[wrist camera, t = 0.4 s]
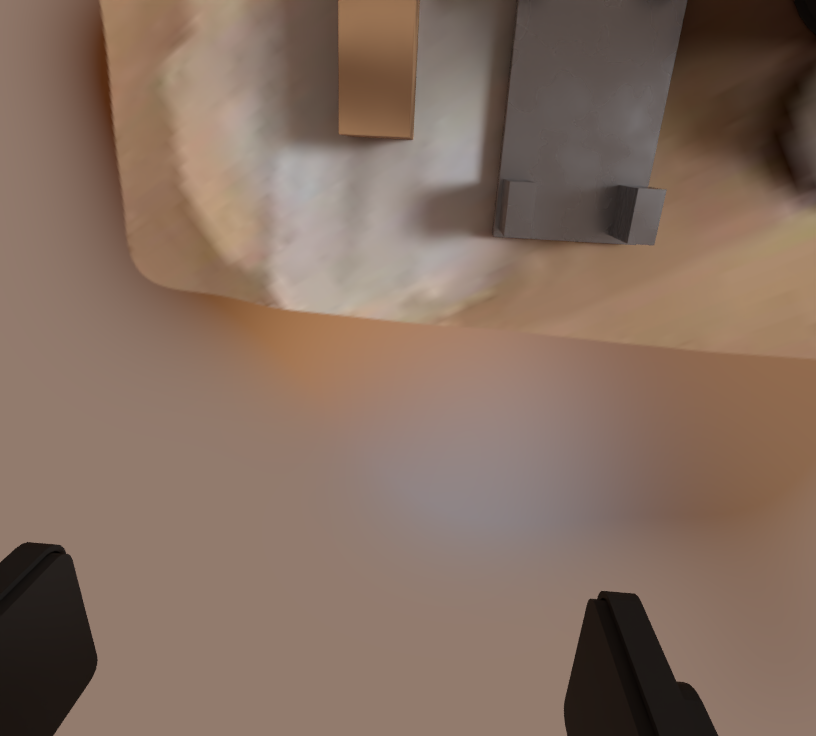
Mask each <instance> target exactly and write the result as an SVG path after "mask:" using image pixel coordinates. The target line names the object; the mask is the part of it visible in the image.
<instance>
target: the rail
mask: <svg viewBox="0 0 816 736" xmlns="http://www.w3.org/2000/svg"><path fill="white" fill-rule="evenodd" d="M419 5H420V0H338V67H339V134H341V135H346V136H352V137H372V138H392V139H412V140H413V133H414V112H415V90H416V69H417V48H418V27H419Z"/></svg>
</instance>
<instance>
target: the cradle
mask: <svg viewBox="0 0 816 736" xmlns="http://www.w3.org/2000/svg"><path fill="white" fill-rule="evenodd" d="M686 5H687V0H517V6H516V16H515V25H514V34H513V44H512V53H511V63H510V72H509V81H508V91H507V100H506V109H505V119H504V128H503V138H502V147H501V156H500V166H499V175H498V184H497V194H496V203H495V213H494V222H493V231H492V235H493V237H507V238H525V239H542V240H559V241H577V242H594V243H611V244H629V245H636V244H640V245H654V243H655V239H656V235H657V230H658V226H659V221H660V217H661V212H662V208H663V203H664V199H665V194H666V190H665V189H658V188H651V187H648V185H649V180H650V175H651V170H652V166H653V161H654V156H655V151H656V147H657V142H658V137H659V133H660V128H661V123H662V118H663V114H664V109H665V104H666V99H667V95H668V90H669V85H670V81H671V76H672V71H673V66H674V62H675V57H676V52H677V47H678V43H679V38H680V33H681V28H682V24H683V19H684V14H685V10H686Z"/></svg>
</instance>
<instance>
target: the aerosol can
mask: <svg viewBox="0 0 816 736" xmlns="http://www.w3.org/2000/svg"><path fill="white" fill-rule="evenodd" d="M794 2H795V4H796V7H797V10H798V12H799V15H800V17H801V18H802V20H803V21H804V23H805V24H806V25H807V27H808V28H809V29H810V30H811V31H813V32H814V33H815V34H816V0H794Z"/></svg>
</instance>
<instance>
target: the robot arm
mask: <svg viewBox="0 0 816 736" xmlns="http://www.w3.org/2000/svg"><path fill="white" fill-rule="evenodd" d="M96 666H97V654H96V650H95V646H94V642H93V638H92V634H91V630H90V626H89V623H88V619H87V615H86V611H85V607H84V603H83V599H82V595H81V591H80V587H79V584H78V580H77V576H76V572H75V568H74V564H73V560H72V558H71V556H70V555H69V554H66V552H65V550H64V548H63V547H61V545H54V544H43V543H31V542H27V543H24V544H21V545H20V546H19V547H17V548H16V549H15V550H14V551H12V552H11V553H10V554H9V555H8V556H7V557H6V558H5V559H4V560H3V561H1V562H0V736H53V735H54V734H55V732H56V731H57V729H58V728H59V726H60V725H61V723H62V721H63V720H64V719H65V717H66V716H67V714H68V713H69V711H70V710H71V708H72V707H73V706H74V704H75V703H76V701H77V699H78V698H79V697H80V695H81V694H82V692H83V691H84V689H85V688H86V686H87V685H88V684H89V682H90V680H91V679H92V677H93V675H94V672H95V670H96ZM564 718H565V726H566V731H567V736H718V734H717V732H716V730H715V728H714V726H713V724H712V722H711V719H710V717H709V715H708V713H707V711H706V709H705V707H704V705H703V702H702V701H701V699H700V697H699V695H698V694H697V692H696V691H695V689H694V688H693V687H692V686H691V685H690V684H687V683H684V682H676V680H675V678H674V675H673V673H672V671H671V669H670V666H669V664H668V662H667V660H666V657H665V655H664V653H663V651H662V648H661V646H660V644H659V641H658V639H657V637H656V635H655V632H654V630H653V628H652V626H651V623H650V621H649V619H648V616H647V614H646V612H645V610H644V607H643V605H642V603H641V601H640V599H639V597H638V596H637V595H636V594H631V593H620V592H608V591H601V592H600V593H599V595H598V598H597V599H589V601H588V603H587V607H586V611H585V616H584V620H583V624H582V628H581V633H580V637H579V641H578V646H577V650H576V654H575V659H574V663H573V667H572V671H571V676H570V680H569V685H568V689H567V693H566V697H565V703H564Z"/></svg>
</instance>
